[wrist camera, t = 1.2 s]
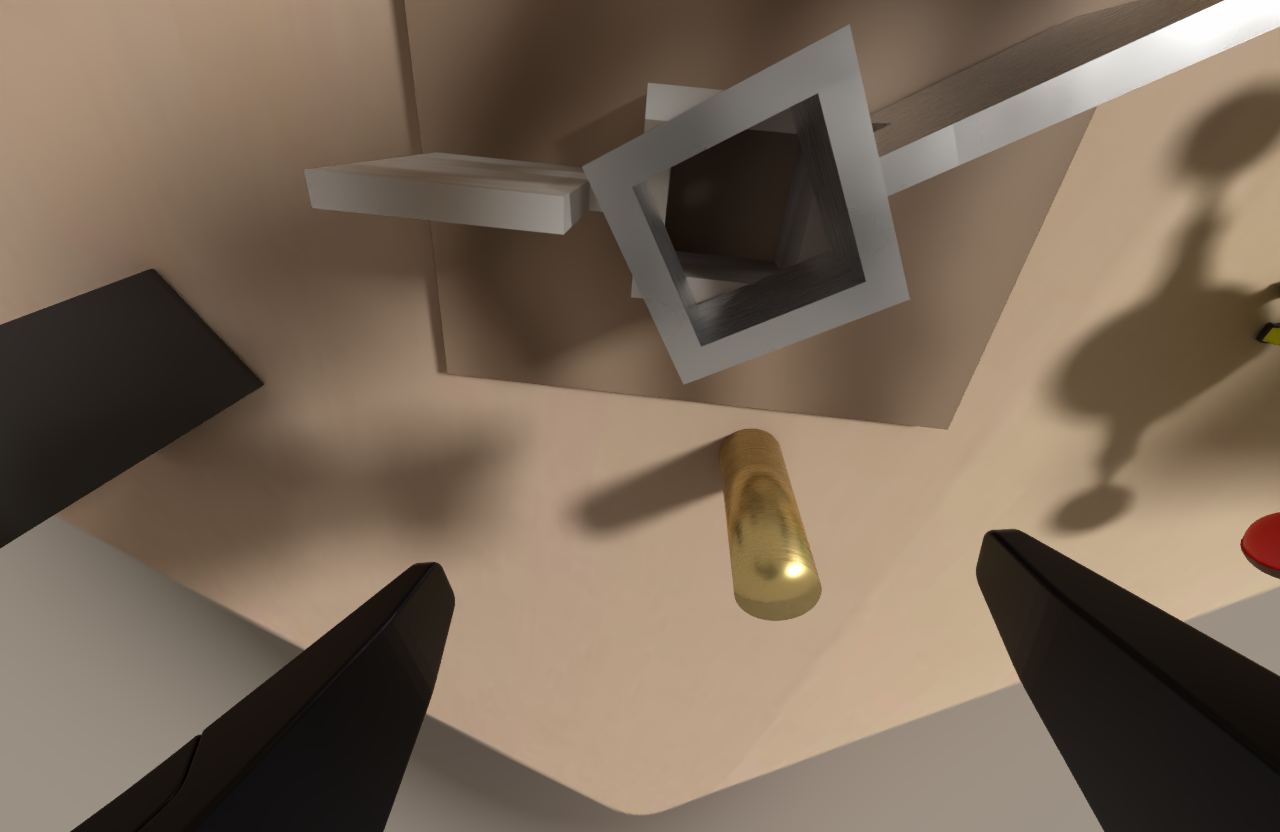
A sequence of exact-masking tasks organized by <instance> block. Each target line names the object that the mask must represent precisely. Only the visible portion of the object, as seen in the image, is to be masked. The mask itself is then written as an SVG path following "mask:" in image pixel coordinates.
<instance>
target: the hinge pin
mask: <svg viewBox="0 0 1280 832" xmlns="http://www.w3.org/2000/svg"><path fill="white" fill-rule="evenodd" d="M719 455H720V466H721V475H722V484H723V494H724V503H725V512H726V522H727V531H728V540H729V549H730V559H731V568H732V577H733V586H734V595H735V599H736V602H737V603H738V605H739V606H740V607H741V608H742V609H743V610H744V611H745V612H746V613H748V614H750V615H752V616H754V617H757V618H760V619H764V620H772V621H780V620H788V619H792V618H795V617H798V616H801V615H803V614H805V613H806V612H808V611H809V610H811V609H812V608H813V607H814V606H815V605H816V603H817V602H818V600H819V598H820V596H821V590H822V589H821V583H820V580H819V577H818V573H817V570H816V567H815V563H814V560H813V556H812V553H811V550H810V546H809V543H808V540H807V536H806V533H805V529H804V526H803V523H802V519H801V516H800V513H799V509H798V506H797V502H796V499H795V496H794V492H793V489H792V486H791V482H790V479H789V475H788V472H787V469H786V465H785V462H784V459H783V455H782V452H781V449H780V445H779V443H778V441H777V440H776V439H775V438H774V437H773V436H772V435H771V434H769V433H768V432H765V431H762V430H758V429H745V430H741V431H738V432H736V433H734V434H732V435H731V436H729V437H728V438H727V439H726V440H725V441H724V443H723V444H722V446H721V449H720V454H719Z"/></svg>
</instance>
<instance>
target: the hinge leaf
mask: <svg viewBox="0 0 1280 832" xmlns="http://www.w3.org/2000/svg"><path fill="white" fill-rule="evenodd" d="M1279 26H1280V0H1136V1H1132V2H1128V3H1125V4H1121V5H1117V6H1113V7H1110V8H1106V9H1102V10H1098V11H1094V12H1091V13H1087V14H1083V15H1079V16H1076V17H1073V18H1071V19H1069V20H1067V21H1065V22H1063V23H1060V24H1058V25H1056V26H1054V27H1052V28H1050V29H1048V30H1046V31H1044V32H1042V33H1040V34H1038V35H1035V36H1033V37H1031V38H1029V39H1027V40H1025V41H1023V42H1021V43H1019V44H1017V45H1015V46H1013V47H1010V48H1008V49H1006V50H1004V51H1002V52H1000V53H998V54H996V55H994V56H992V57H990V58H988V59H985V60H983V61H981V62H979V63H977V64H975V65H973V66H971V67H969V68H967V69H965V70H963V71H960V72H958V73H956V74H954V75H952V76H950V77H948V78H946V79H944V80H942V81H940V82H938V83H935V84H933V85H931V86H929V87H927V88H925V89H923V90H921V91H919V92H917V93H915V94H913V95H910V96H908V97H906V98H904V99H902V100H900V101H898V102H896V103H894V104H892V105H890V106H888V107H885V108H883V109H881V110H879V111H877V112H875V113H873V114H871V115H870V114H869V110H868V105H867V101H866V96H865V92H864V87H863V82H862V78H861V73H860V69H859V64H858V59H857V55H856V50H855V46H854V41H853V37H852V32H851V27H850V24H849V25H847V26H845V27H843V28H841V29H840V30H838V31H836V32H834V33H832V34H830V35H828V36H826V37H825V38H823V39H821V40H819V41H817V42H815V43H813V44H811V45H809V46H808V47H806V48H804V49H802V50H800V51H798V52H796V53H794V54H793V55H791V56H789V57H787V58H785V59H783V60H781V61H779V62H778V63H776V64H774V65H772V66H770V67H768V68H766V69H764V70H763V71H761V72H759V73H757V74H755V75H753V76H751V77H749V78H747V79H746V80H744V81H742V82H740V83H738V84H736V85H734V86H732V87H731V88H729V89H727V90H725V91H723V92H721V93H719V94H717V95H716V96H714V97H712V98H710V99H708V100H706V101H704V102H702V103H701V104H699V105H697V106H695V107H693V108H691V109H689V110H687V111H686V112H684V113H682V114H680V115H678V116H676V117H674V118H672V119H670V120H669V121H667V122H665V123H663V124H661V125H659V126H657V127H655V128H654V129H652V130H650V131H648V132H646V133H644V134H642V135H640V136H639V137H637V138H635V139H633V140H631V141H629V142H627V143H625V144H624V145H622V146H620V147H618V148H616V149H614V150H612V151H610V152H608V153H607V154H605V155H603V156H601V157H599V158H597V159H595V160H593V161H592V162H590V163H588V164H586V165H584V166H582V168H583V170H584V173H585V175H586V177H587V179H588V181H589V183H590V185H591V188H592V190H593V192H594V194H595V196H596V198H597V200H598V203H599V205H600V207H601V209H602V211H603V213H604V215H605V218H606V220H607V222H608V224H609V226H610V228H611V230H612V233H613V235H614V237H615V239H616V241H617V243H618V245H619V247H620V250H621V252H622V254H623V256H624V258H625V260H626V262H627V265H628V267H629V269H630V271H631V273H632V275H633V277H634V280H635V282H636V284H637V286H638V288H639V290H640V292H641V295H642V297H643V299H644V301H645V303H646V305H647V307H648V310H649V312H650V314H651V316H652V318H653V320H654V322H655V325H656V327H657V329H658V331H659V333H660V335H661V337H662V340H663V342H664V344H665V346H666V348H667V350H668V352H669V355H670V357H671V359H672V361H673V363H674V365H675V367H676V370H677V372H678V374H679V376H680V378H681V380H682V382H683V385H684V384H687V383H690V382H692V381H695V380H698V379H700V378H703V377H706V376H708V375H711V374H714V373H716V372H719V371H722V370H724V369H727V368H730V367H732V366H735V365H737V364H740V363H743V362H745V361H748V360H751V359H753V358H756V357H759V356H761V355H764V354H767V353H769V352H772V351H775V350H777V349H780V348H783V347H785V346H788V345H791V344H793V343H796V342H799V341H801V340H804V339H806V338H809V337H812V336H814V335H817V334H820V333H822V332H825V331H828V330H830V329H833V328H836V327H838V326H841V325H844V324H846V323H849V322H852V321H854V320H857V319H860V318H862V317H865V316H867V315H870V314H873V313H875V312H878V311H881V310H883V309H886V308H889V307H891V306H894V305H897V304H899V303H902V302H905V301H907V300H910V297H909V293H908V288H907V284H906V279H905V275H904V270H903V265H902V261H901V256H900V252H899V247H898V243H897V238H896V233H895V229H894V224H893V220H892V215H891V210H890V206H889V201H888V196H890V195H892V194H895V193H897V192H899V191H901V190H904V189H906V188H908V187H911V186H913V185H915V184H918V183H920V182H922V181H925V180H927V179H929V178H931V177H934V176H936V175H938V174H941V173H943V172H945V171H948V170H950V169H952V168H954V167H957V166H959V165H961V164H964V163H966V162H968V161H971V160H973V159H975V158H978V157H980V156H982V155H984V154H987V153H989V152H991V151H994V150H996V149H998V148H1001V147H1003V146H1005V145H1007V144H1010V143H1012V142H1014V141H1017V140H1019V139H1021V138H1024V137H1026V136H1028V135H1031V134H1033V133H1035V132H1037V131H1040V130H1042V129H1044V128H1047V127H1049V126H1051V125H1054V124H1056V123H1058V122H1060V121H1063V120H1065V119H1067V118H1070V117H1072V116H1074V115H1077V114H1079V113H1081V112H1084V111H1086V110H1088V109H1090V108H1093V107H1095V106H1097V105H1100V104H1102V103H1104V102H1107V101H1109V100H1111V99H1114V98H1116V97H1118V96H1120V95H1123V94H1125V93H1127V92H1130V91H1132V90H1134V89H1137V88H1139V87H1141V86H1143V85H1146V84H1148V83H1150V82H1153V81H1155V80H1157V79H1160V78H1162V77H1164V76H1167V75H1169V74H1171V73H1173V72H1176V71H1178V70H1180V69H1183V68H1185V67H1187V66H1190V65H1192V64H1194V63H1196V62H1199V61H1201V60H1203V59H1206V58H1208V57H1210V56H1213V55H1215V54H1217V53H1220V52H1222V51H1224V50H1226V49H1229V48H1231V47H1233V46H1236V45H1238V44H1240V43H1243V42H1245V41H1247V40H1249V39H1252V38H1254V37H1256V36H1259V35H1261V34H1263V33H1266V32H1268V31H1270V30H1273V29H1275V28H1277V27H1279ZM789 107H790V109H791V112H792V116H793V119H794V123H795V126H796V130H797V134H798V137H799V141H800V144H801V148H802V151H803V155H804V159H805V162H806V166H807V169H808V173H809V176H810V180H811V183H812V187H813V191H814V194H815V198H816V201H817V205H818V208H819V212H820V216H821V219H822V223H823V226H824V230H825V233H826V237H827V241H828V244H829V248H830V250H829V251H826V252H824V253H821V254H819V255H817V256H814V257H812V258H809V259H807V260H805V261H802V262H800V263H798V264H795V265H793V266H790V267H788V268H786V269H783V270H781V271H778V272H776V273H774V274H771V275H769V276H767V277H764V278H762V279H759V280H757V281H755V282H752V283H750V284H747V285H745V286H743V287H740V288H738V289H735V290H733V291H731V292H728V293H726V294H724V295H721V296H719V297H716V298H714V299H712V300H709V301H707V302H704V303H702V304H700V305H698V304H697V302H696V300H695V297H694V295H693V292H692V290H691V288H690V285H689V283H688V280H687V278H686V276H685V273H684V271H683V269H682V266H681V264H680V261H679V259H678V257H677V254H676V252H675V249H674V247H673V245H672V242H671V240H670V238H669V235H668V233H667V230H666V228H665V226H664V223H663V221H662V218H661V216H660V214H659V211H658V209H657V206H656V204H655V202H654V199H653V197H652V195H651V192H650V190H649V187H648V185H647V183H646V180H647V179H649V178H651V177H653V176H655V175H657V174H659V173H661V172H663V171H665V170H667V169H669V168H671V167H673V166H674V165H676V164H678V163H680V162H682V161H684V160H686V159H688V158H690V157H692V156H694V155H696V154H698V153H700V152H702V151H704V150H706V149H708V148H710V147H712V146H714V145H716V144H718V143H720V142H722V141H724V140H726V139H728V138H730V137H732V136H734V135H736V134H738V133H740V132H742V131H744V130H746V129H748V128H750V127H752V126H754V125H756V124H758V123H760V122H762V121H764V120H766V119H768V118H770V117H772V116H774V115H776V114H778V113H779V112H781V111H783V110H785V109H787V108H789Z"/></svg>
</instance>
